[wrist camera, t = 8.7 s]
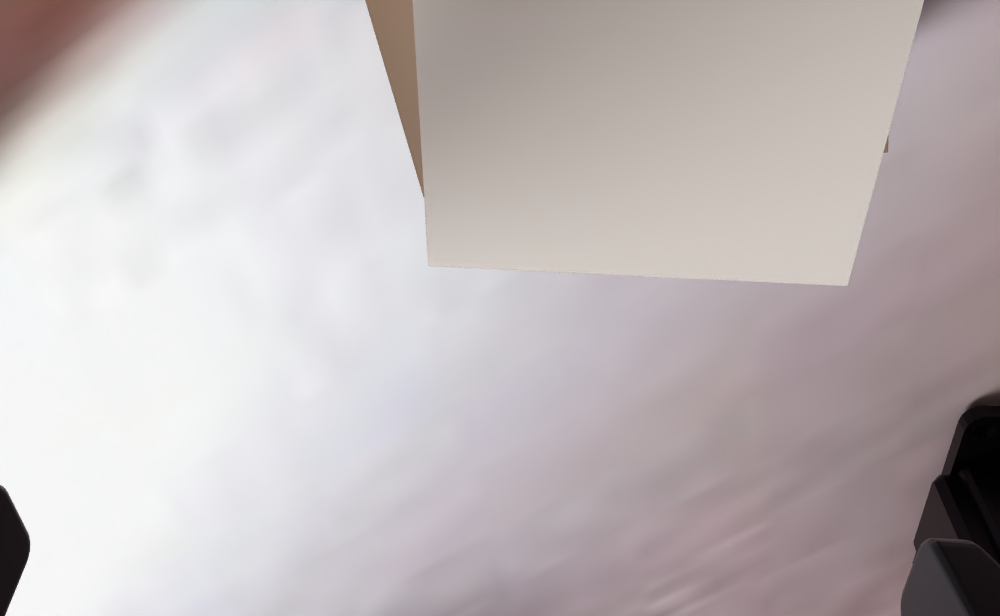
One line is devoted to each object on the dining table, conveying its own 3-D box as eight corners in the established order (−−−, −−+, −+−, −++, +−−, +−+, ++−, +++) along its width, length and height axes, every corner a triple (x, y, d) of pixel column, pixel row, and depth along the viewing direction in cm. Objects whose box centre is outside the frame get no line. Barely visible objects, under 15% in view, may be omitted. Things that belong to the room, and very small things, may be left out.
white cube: (843, -235, 11) (980, -208, 7) (776, 122, 14) (847, 285, 10) (469, -234, 12) (399, -209, 8) (476, 112, 15) (428, 266, 11)
